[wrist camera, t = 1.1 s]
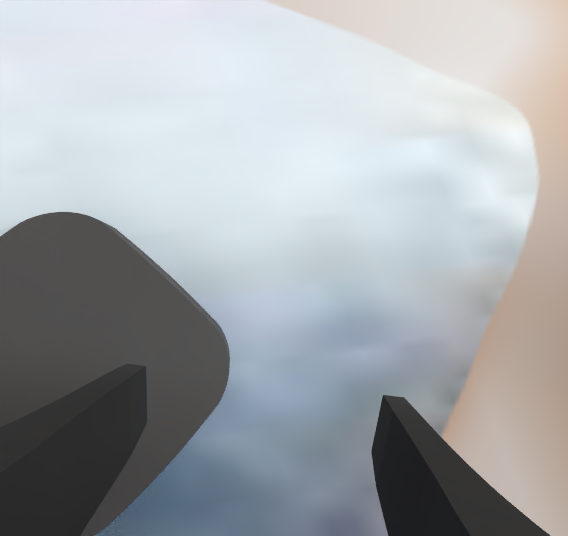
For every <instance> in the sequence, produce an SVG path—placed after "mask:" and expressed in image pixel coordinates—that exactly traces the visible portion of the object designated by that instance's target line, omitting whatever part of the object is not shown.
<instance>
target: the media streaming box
mask: <svg viewBox="0 0 568 536" xmlns="http://www.w3.org/2000/svg"><path fill="white" fill-rule="evenodd" d="M229 363H230V356H229V348H228V343H227V340H226V337H225V335H224V333H223V331H222V329H221V327H220V326H219V325H218V324H217V322H216V321H215V320H214V319H213V318H212V317H211V316H210V315H209V314H208V313H207V312H206V311H205V310H204V309H203V308H202V307H201V306H200V305H199V304H198V303H197V302H196V301H195V300H194V299H193V298H192V297H191V296H190V295H189V294H188V293H187V292H186V291H185V290H184V289H183V288H182V287H181V286H180V285H179V284H178V283H177V282H176V281H175V280H174V279H173V278H172V277H171V276H170V275H168V274H167V273H166V272H165V271H164V270H163V269H162V268H161V267H160V266H159V265H157V264H156V263H155V262H154V261H153V260H152V259H151V258H150V257H149V256H147V255H146V254H145V253H144V252H143V251H142V250H140V249H139V248H138V247H137V246H136V245H135V244H133V243H132V242H131V241H130V240H129V239H127V238H126V237H125V236H124V235H123V234H121V233H120V232H119V231H118V230H117V229H115V228H113V227H112V226H110V225H108V224H106V223H103V222H101V221H99V220H97V219H95V218H93V217H90V216H87V215H83V214H79V213H72V212H55V213H48V214H43V215H39V216H35V217H33V218H30V219H27V220H25V221H23V222H21V223H19V224H18V225H16V226H15V227H13V228H12V229H10V230H9V231H8V232H6V233H5V234H3V235H2V236H1V237H0V427H2V426H4V425H6V424H9V423H11V422H13V421H15V420H17V419H20V418H22V417H24V416H26V415H28V414H30V413H32V412H34V411H36V410H38V409H40V408H42V407H44V406H46V405H48V404H50V403H52V402H54V401H56V400H58V399H60V398H62V397H64V396H66V395H68V394H70V393H71V392H73V391H75V390H77V389H79V388H81V387H83V386H85V385H86V384H88V383H90V382H92V381H94V380H96V379H98V378H99V377H101V376H103V375H105V374H107V373H109V372H111V371H113V370H114V369H116V368H118V367H120V366H123V365H125V364H134V365H142V366H146V382H147V424H146V426H145V428H144V430H143V432H142V434H141V437H140V439H139V441H138V443H137V445H136V447H135V449H134V451H133V453H132V455H131V456H130V458H129V460H128V461H127V463H126V465H125V466H124V468H123V469H122V471H121V472H120V474H119V476H118V477H117V479H116V480H115V482H114V484H113V485H112V487H111V488H110V490H109V491H108V493H107V494H106V496H105V498H104V499H103V501H102V502H101V504H100V505H99V507H98V509H97V510H96V512H95V513H94V515H93V516H92V518H91V519H90V521H89V523H88V524H87V526H86V527H85V529H84V530H83V532H82V534H81V535H80V536H93V535H95V534H97V533H99V532H100V531H102V530H103V529H104V528H106V527H107V526H108V525H109V524H110V523H111V522H112V521H113V520H114V519H115V518H116V517H117V516H119V515H120V514H121V513H122V512H123V511H124V510H125V509H126V508H127V507H128V506H129V505H130V504H131V503H132V502H133V501H134V500H135V499H136V498H137V497H138V496H139V495H140V494H141V493H142V492H143V491H144V490H145V489H146V488H147V487H148V486H149V485H150V484H151V482H152V481H153V480H154V479H155V478H156V477H157V476H158V475H159V474H160V473H161V472H162V471H163V470H164V468H165V467H166V466H167V465H168V464H169V463H170V462H171V461H172V460H173V458H174V457H175V456H176V455H177V454H178V453H179V452H180V450H181V449H182V448H183V447H184V446H185V445H186V443H187V442H188V441H189V440H190V439H191V437H192V436H193V435H194V434H195V433H196V431H197V430H198V429H199V428H200V426H201V425H202V424H203V423H204V421H205V420H206V419H207V418H208V417H209V415H210V414H211V413H212V411H213V410H214V409H215V407H216V406H217V405H218V404H219V402H220V400H221V398H222V396H223V394H224V391H225V388H226V385H227V381H228V375H229Z"/></svg>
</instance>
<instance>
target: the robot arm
mask: <svg viewBox="0 0 568 536" xmlns="http://www.w3.org/2000/svg"><path fill="white" fill-rule="evenodd" d="M146 424H147V382H146V366H142V365H134V364H125V365H123V366H120V367H118V368H116V369H114V370H113V371H111V372H109V373H107V374H105V375H103V376H101V377H99V378H98V379H96V380H94V381H92V382H90V383H88V384H86V385H85V386H83V387H81V388H79V389H77V390H75V391H73V392H71V393H70V394H68V395H66V396H64V397H62V398H60V399H58V400H56V401H54V402H52V403H50V404H48V405H46V406H44V407H42V408H40V409H38V410H36V411H34V412H32V413H30V414H28V415H26V416H24V417H22V418H20V419H17V420H15V421H13V422H11V423H9V424H6V425H4V426H2V427H0V536H80V535H81V534H82V532H83V530H84V529H85V527H86V526H87V524H88V523H89V521H90V519H91V518H92V516H93V515H94V513H95V512H96V510H97V509H98V507H99V505H100V504H101V502H102V501H103V499H104V498H105V496H106V494H107V493H108V491H109V490H110V488H111V487H112V485H113V484H114V482H115V480H116V479H117V477H118V476H119V474H120V472H121V471H122V469H123V468H124V466H125V465H126V463H127V461H128V460H129V458H130V456H131V455H132V453H133V451H134V449H135V447H136V445H137V443H138V441H139V439H140V437H141V434H142V432H143V430H144V428H145V426H146ZM372 458H373V466H374V474H375V481H376V487H377V492H378V496H379V500H380V504H381V508H382V512H383V516H384V520H385V524H386V528H387V532H388V536H550V535H549V534H548V533H546V532H545V531H544V530H542V529H541V528H540V527H539V526H537V525H536V524H535V523H534V522H532V521H531V520H530V519H529V518H528V517H526V516H525V515H524V514H523V513H522V512H520V511H519V510H518V509H517V508H516V507H514V506H513V505H512V504H511V503H510V502H508V501H507V500H506V499H505V498H504V497H503V496H502V495H500V494H499V493H498V492H497V491H496V490H495V489H494V488H492V487H491V486H490V485H489V484H488V483H487V482H486V481H485V480H484V479H483V478H482V477H481V476H480V475H479V474H477V473H476V472H475V471H474V470H473V469H472V468H471V467H470V466H469V465H468V464H467V463H466V462H465V461H464V460H463V459H462V458H461V457H460V456H459V455H458V454H457V453H456V452H455V451H454V450H453V449H452V448H451V447H450V446H449V445H448V444H447V443H446V442H445V441H444V440H443V439H442V438H441V437H440V436H439V435H438V434H437V432H436V431H435V430H434V429H433V428H432V427H431V426H430V425H429V424H428V423H427V422H426V421H425V420H424V418H423V417H422V416H421V415H420V414H419V413H418V412H417V411H416V410H415V409H414V408H413V407H412V406H411V404H410V403H409V402H408V401H407V400H406V399H405V398H403V397H395V396H387V395H383V398H382V403H381V408H380V412H379V417H378V422H377V427H376V432H375V437H374V442H373V447H372Z"/></svg>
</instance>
